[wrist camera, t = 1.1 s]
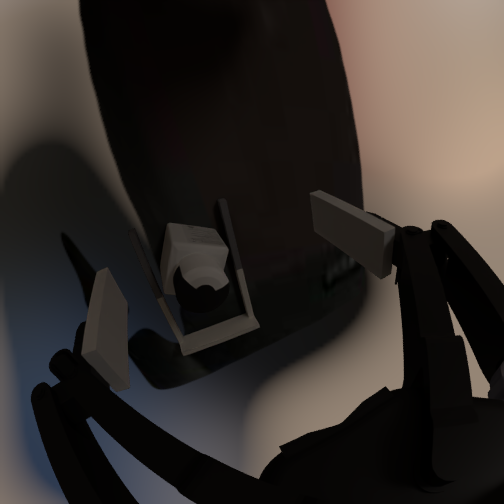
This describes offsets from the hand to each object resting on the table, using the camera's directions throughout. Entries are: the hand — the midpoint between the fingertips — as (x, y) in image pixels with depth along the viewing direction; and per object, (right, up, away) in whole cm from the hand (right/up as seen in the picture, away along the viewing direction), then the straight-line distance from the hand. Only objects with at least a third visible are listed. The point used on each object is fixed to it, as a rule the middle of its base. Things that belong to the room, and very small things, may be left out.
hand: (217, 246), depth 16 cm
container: (-8, 0, +26) cm, 27 cm away
